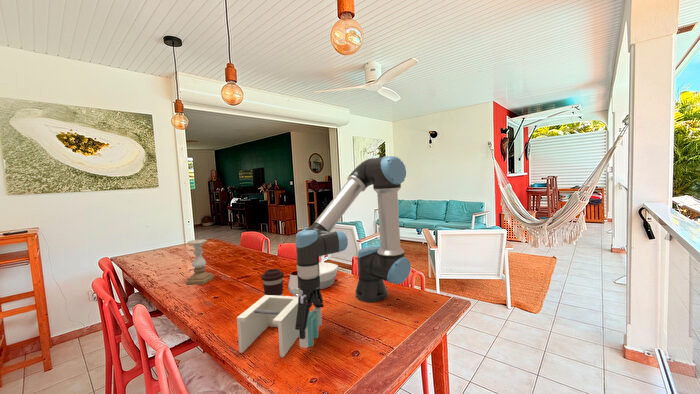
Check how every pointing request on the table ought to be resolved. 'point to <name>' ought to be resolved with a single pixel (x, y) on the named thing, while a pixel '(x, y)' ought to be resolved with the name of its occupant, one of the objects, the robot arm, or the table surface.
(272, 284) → the coffee cup
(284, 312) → the white c-frame
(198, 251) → the candle holder
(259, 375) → the table surface
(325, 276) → the bowl
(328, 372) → the table surface
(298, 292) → the wineglass
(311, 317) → the teal u-shaped bracket
